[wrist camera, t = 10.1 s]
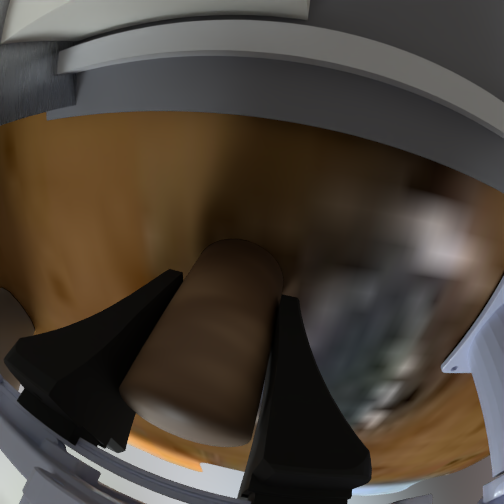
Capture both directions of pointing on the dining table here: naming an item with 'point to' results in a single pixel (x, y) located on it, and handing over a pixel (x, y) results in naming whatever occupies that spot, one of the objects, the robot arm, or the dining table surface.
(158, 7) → the sliding block
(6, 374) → the vase
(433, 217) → the dining table surface
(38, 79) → the stop wall
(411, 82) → the slide board
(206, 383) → the dowel
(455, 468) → the dining table surface
